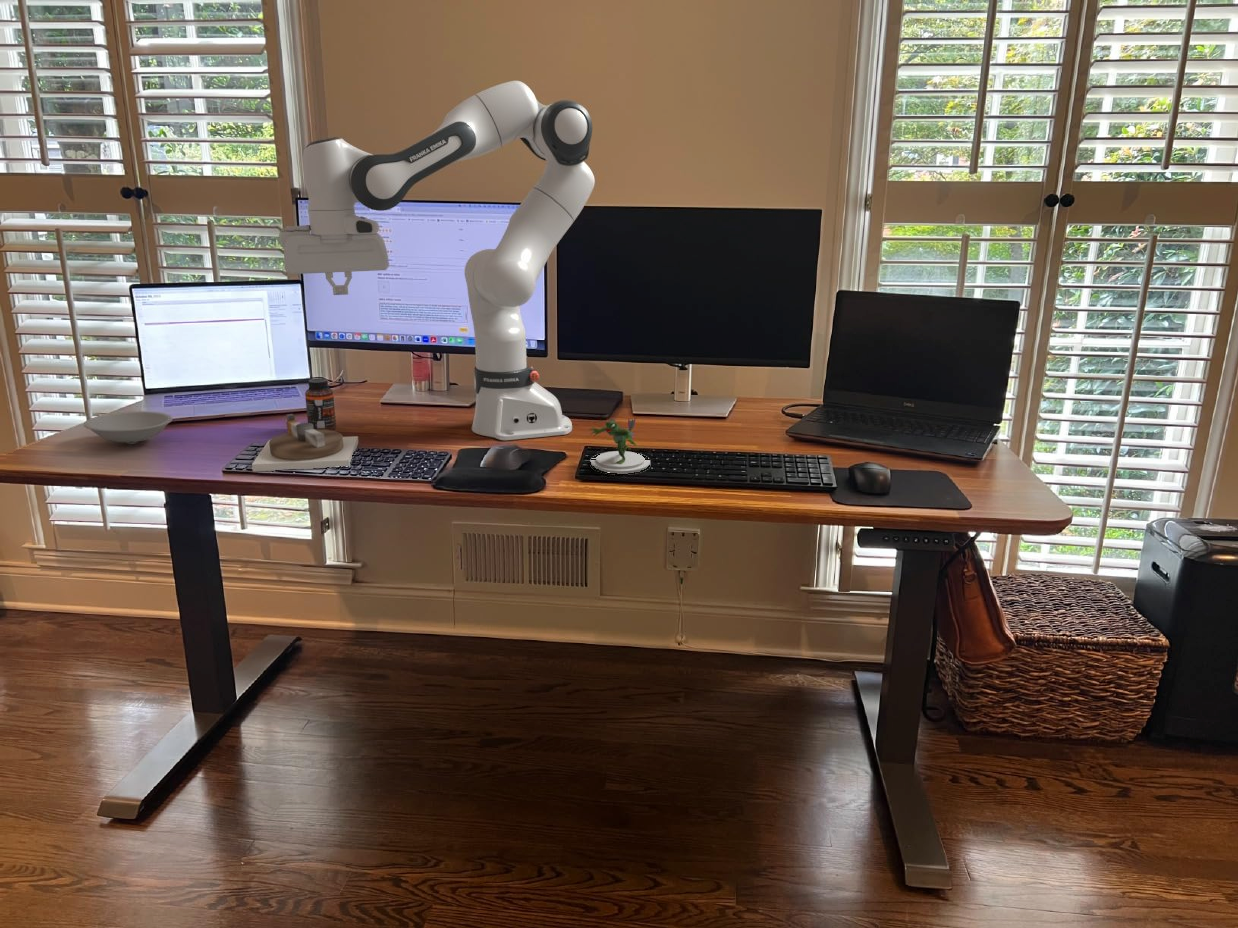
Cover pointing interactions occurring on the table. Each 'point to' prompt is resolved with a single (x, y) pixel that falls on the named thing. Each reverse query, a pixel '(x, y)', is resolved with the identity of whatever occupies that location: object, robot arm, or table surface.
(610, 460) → the monster figurine
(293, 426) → the dial
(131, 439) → the dish
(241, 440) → the table surface
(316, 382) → the supplement bottle
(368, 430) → the table surface
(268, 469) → the dial base
